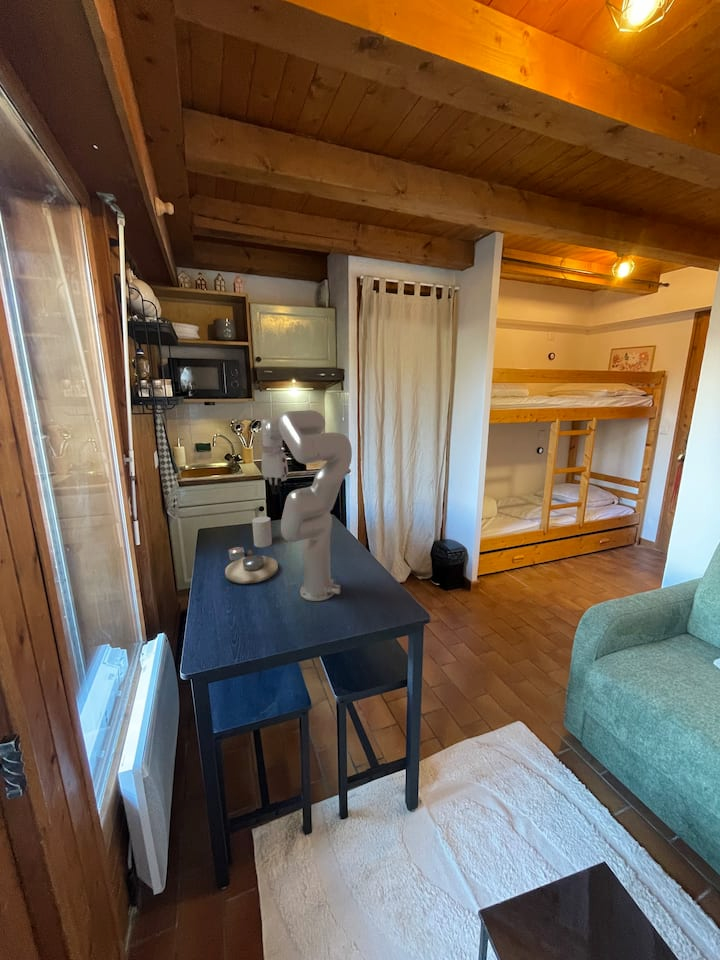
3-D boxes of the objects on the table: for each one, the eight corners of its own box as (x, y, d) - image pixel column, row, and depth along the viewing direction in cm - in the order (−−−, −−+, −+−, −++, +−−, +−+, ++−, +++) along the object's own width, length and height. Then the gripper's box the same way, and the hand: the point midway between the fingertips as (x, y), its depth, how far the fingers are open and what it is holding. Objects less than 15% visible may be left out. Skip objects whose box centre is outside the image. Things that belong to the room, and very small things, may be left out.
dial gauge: (243, 553, 167) (242, 545, 166) (244, 558, 163) (244, 550, 162) (229, 555, 165) (228, 547, 164) (230, 560, 161) (229, 552, 160)
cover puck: (263, 560, 155) (262, 554, 154) (265, 569, 148) (264, 562, 147) (242, 563, 153) (242, 557, 152) (243, 573, 145) (243, 565, 144)
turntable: (274, 555, 163) (273, 546, 161) (281, 577, 144) (280, 567, 143) (225, 563, 156) (224, 553, 155) (226, 587, 138) (224, 576, 137)
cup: (250, 545, 176) (248, 520, 173) (262, 538, 183) (260, 515, 180) (263, 548, 172) (261, 523, 169) (275, 542, 179) (273, 518, 176)
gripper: (294, 449, 151) (296, 492, 156) (263, 446, 157) (266, 489, 162) (283, 452, 145) (286, 498, 149) (251, 449, 150) (255, 494, 155)
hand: (275, 493), depth 155 cm, fingers closed
